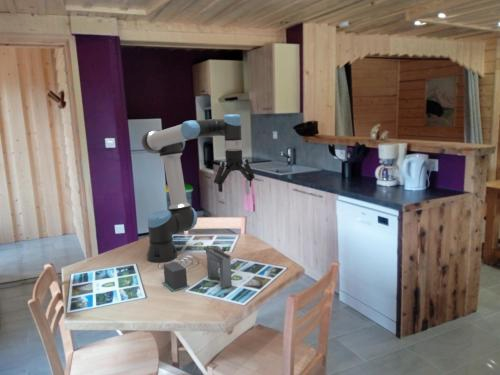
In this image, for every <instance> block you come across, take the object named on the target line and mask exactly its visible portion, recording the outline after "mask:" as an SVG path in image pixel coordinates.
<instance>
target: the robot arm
mask: <svg viewBox="0 0 500 375" xmlns="http://www.w3.org/2000/svg"><path fill="white" fill-rule="evenodd" d="M220 136H221V137H224V149H225V151H224V156H225V161H220V162H219V166H218V170H217V172H216V175H215V178H214V180H213V183H214V184H217V186H218V187H217V189H218V190H217V191H218V192H219V199H221V200H225V198H226V195H225V194H226V192H225V184H224V182H225V181H226V179H227V177H228V176H229V175H230V173H231V172H234V171H239V172H240V173H241V174H242V176H243V177H244V178H245V181H244V187H245V190H244V191H245V195H248V196H250V195H251V188H252V181H253V180H254V179H255V178H256V177H255V174H254V173H253V170H252V168H251V166H250V164H249V159H247V158H243V150H242V149H243V146H242V145H243V142H242V117H241V115H240V114H233V113H232V114H224V115H223V118H211V119H210V118H209V119H200V120H199V119H197V120H196V119H194V120H192V119H191V120H186V121H184V122H182V123H181V124H177V125H175V126H172V127H171V126H170V127H168V128H165V129H161V130H159V129H158V130H150V131H147V132H146V133H144V134H143V135H142V137H141V143H140V144H141V146H142V148H143V149H144V151H146V152H148V153H149V154H155V155H156V154H159V157H160V158H161V159H162V160H163V163H164V164H163V165H164V171H165V178H166V182H167V189H168V197H169V200H170V206H169V207H168V209H166V210H165V209H164V210H158V211H154V212H152V213H150V214H149V215H148V217H147V227H148V239H149V241H148V242H149V246H148V250H147V254H146V257H147V258H146V259H147V261H149V262H151V263H152V262H153V263H165V262H166V263H167V262H169V261H172V260H175V259H177V257H178V250H177V248H176V246H175V243H174V239H173V238H174V237H173V235H176V234H179V233H183V232H187V231H189V230H192V229H194V228H195V227H196V225H197V222H198V214H197V211H196V210H195V208H193V207H192V206H191V203H189V202H188V198H187V194H186V193H187V192H186V187H185V181H184V174H183V168H182V162H181V156H182V155H183V151H184V149H185V146H186V141H190V140H194V139H198V138H207V137H208V138H210V137H220ZM242 165H243V166H244V167H243V166H242Z"/></svg>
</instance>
